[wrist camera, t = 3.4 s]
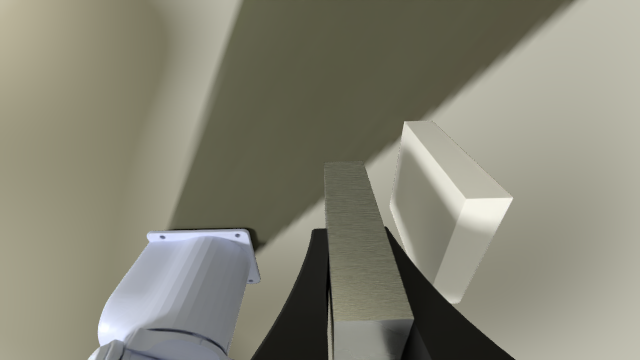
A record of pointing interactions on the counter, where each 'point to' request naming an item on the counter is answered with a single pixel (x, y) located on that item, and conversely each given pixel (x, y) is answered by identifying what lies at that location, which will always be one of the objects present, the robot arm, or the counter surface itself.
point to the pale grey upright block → (361, 271)
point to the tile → (444, 207)
